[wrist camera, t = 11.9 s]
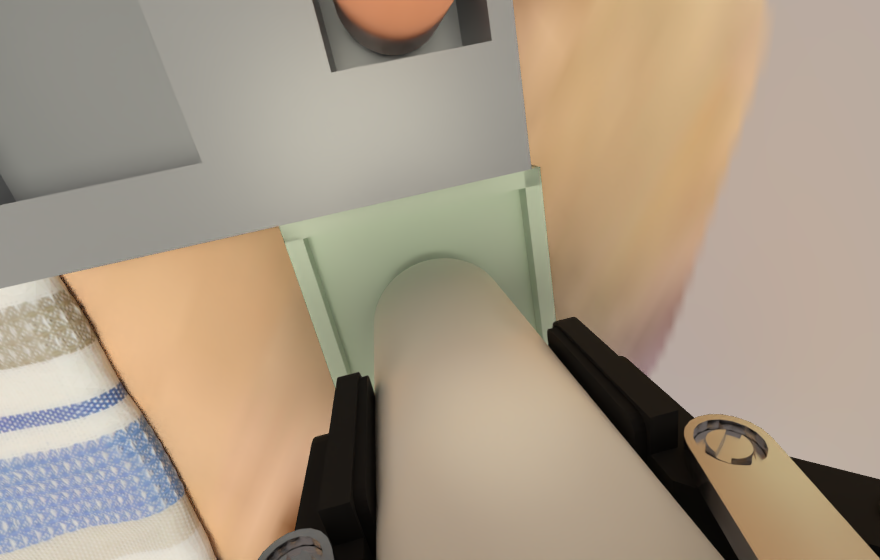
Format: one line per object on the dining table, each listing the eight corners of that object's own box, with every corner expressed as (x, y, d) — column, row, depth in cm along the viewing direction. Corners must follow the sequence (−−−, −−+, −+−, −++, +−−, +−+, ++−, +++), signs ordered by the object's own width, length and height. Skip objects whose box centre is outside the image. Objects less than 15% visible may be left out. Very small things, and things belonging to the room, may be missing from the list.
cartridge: (514, 361, 16) (957, 1077, 4) (391, 393, 15) (461, 1297, 3) (496, 243, 14) (1209, 884, 2) (357, 276, 14) (262, 1285, 2)
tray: (546, 361, 19) (562, 382, 17) (354, 411, 18) (352, 438, 17) (522, 163, 16) (539, 166, 14) (288, 215, 15) (278, 225, 13)
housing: (483, 158, 15) (531, 169, 11) (68, 249, 14) (-80, 306, 10) (429, -196, 12) (466, -411, 7) (-131, -112, 11) (-520, -302, 6)
